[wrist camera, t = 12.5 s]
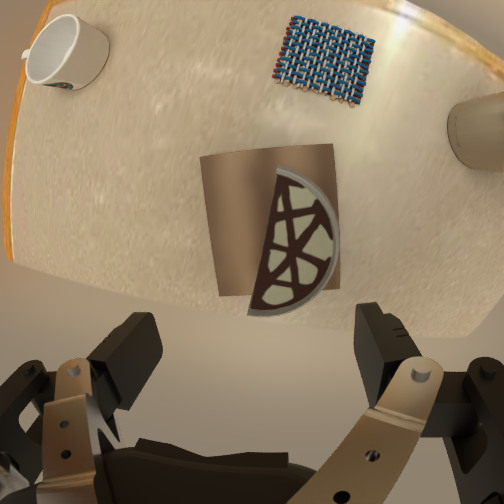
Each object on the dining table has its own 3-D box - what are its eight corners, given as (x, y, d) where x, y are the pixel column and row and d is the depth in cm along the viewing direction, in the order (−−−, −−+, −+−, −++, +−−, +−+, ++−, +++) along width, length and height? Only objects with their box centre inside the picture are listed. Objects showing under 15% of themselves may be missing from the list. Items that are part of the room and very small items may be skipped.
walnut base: (328, 145, 30) (332, 143, 27) (335, 278, 34) (339, 288, 32) (207, 157, 32) (199, 157, 29) (224, 286, 36) (219, 296, 33)
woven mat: (291, 17, 26) (291, 9, 24) (373, 42, 26) (377, 36, 24) (269, 84, 29) (268, 79, 27) (356, 111, 29) (360, 107, 27)
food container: (310, 287, 32) (319, 335, 22) (257, 275, 32) (245, 321, 23) (337, 178, 28) (363, 184, 19) (279, 165, 28) (277, 164, 19)
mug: (121, 27, 27) (91, 7, 20) (98, 92, 30) (62, 82, 23) (61, 36, 28) (30, 24, 20) (42, 93, 31) (7, 88, 23)
